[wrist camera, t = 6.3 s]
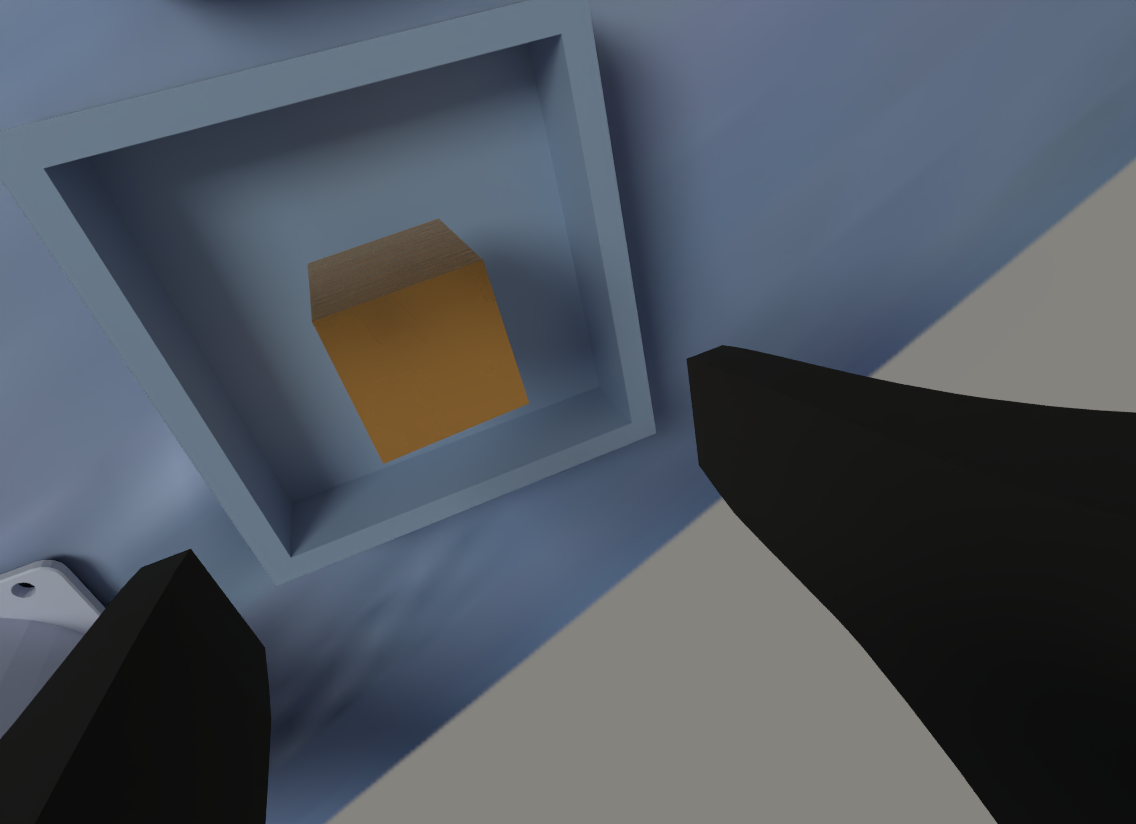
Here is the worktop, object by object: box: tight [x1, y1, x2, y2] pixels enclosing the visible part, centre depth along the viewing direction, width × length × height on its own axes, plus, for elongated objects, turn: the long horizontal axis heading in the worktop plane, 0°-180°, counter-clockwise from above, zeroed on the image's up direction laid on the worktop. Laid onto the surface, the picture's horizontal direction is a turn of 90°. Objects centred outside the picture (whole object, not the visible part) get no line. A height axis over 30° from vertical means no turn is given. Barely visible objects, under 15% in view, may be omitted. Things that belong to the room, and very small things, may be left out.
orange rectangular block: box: [308, 219, 529, 464], centre depth 14 cm, size 3×3×6 cm
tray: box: [0, 0, 656, 586], centre depth 16 cm, size 11×11×3 cm
